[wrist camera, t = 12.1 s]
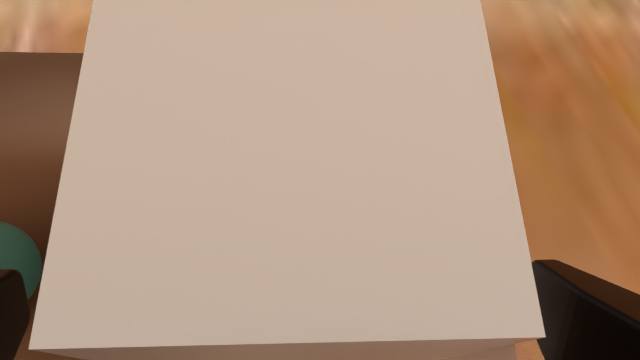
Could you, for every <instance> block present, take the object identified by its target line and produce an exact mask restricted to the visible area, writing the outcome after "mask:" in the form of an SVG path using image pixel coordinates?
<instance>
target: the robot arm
mask: <svg viewBox="0 0 640 360" xmlns="http://www.w3.org/2000/svg"><path fill="white" fill-rule="evenodd" d="M531 264H532V269H533V274H534V279H535V284H536V290H537V295H538V300H539V305H540V310H541V315H542V320H543V325H544V331H545V336H546V337H545V338H540V339H536V340H537V342H538V344H539V347H540V349H541V351H542V354H543V356H544V358H545V360H640V295H639V294H637V293H634V292H632V291H630V290H627V289H625V288H622V287H620V286H618V285H615V284H613V283H610V282H608V281H606V280H603V279H601V278H598V277H596V276H594V275H591V274H589V273H586V272H584V271H582V270H579V269H577V268H574V267H572V266H570V265H567V264H565V263H563V262H560V261H558V260H535V261H533V262H532V263H531ZM29 320H30V307H29V303H28V298H27V294H26V289H25V285H24V280H23V277H22V275H21V273H20V272H19V271H18V270H16V269H0V360H14V358H15V356H16V353H17V351H18V348H19V346H20V344H21V341H22V339H23V337H24V334H25V332H26V329H27V327H28V324H29Z"/></svg>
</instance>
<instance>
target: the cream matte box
mask: <svg viewBox="0 0 640 360" xmlns="http://www.w3.org/2000/svg"><path fill="white" fill-rule="evenodd" d="M545 337H546V336H545V331H544V325H543V320H542V315H541V310H540V305H539V300H538V295H537V290H536V284H535V279H534V274H533V269H532V264H531V259H530V254H529V248H528V243H527V238H526V233H525V228H524V223H523V218H522V212H521V207H520V202H519V197H518V192H517V187H516V182H515V176H514V171H513V166H512V161H511V156H510V151H509V146H508V140H507V135H506V130H505V125H504V120H503V115H502V110H501V104H500V99H499V94H498V89H497V84H496V79H495V74H494V69H493V63H492V58H491V53H490V48H489V43H488V38H487V33H486V27H485V22H484V17H483V12H482V7H481V2H480V0H94V1H93V6H92V12H91V17H90V22H89V28H88V33H87V38H86V44H85V49H84V54H83V60H82V65H81V70H80V76H79V81H78V87H77V92H76V97H75V103H74V108H73V113H72V119H71V124H70V129H69V135H68V140H67V145H66V151H65V156H64V161H63V167H62V172H61V178H60V183H59V188H58V194H57V199H56V204H55V210H54V215H53V220H52V226H51V231H50V236H49V242H48V247H47V252H46V258H45V263H44V269H43V274H42V279H41V285H40V290H39V295H38V301H37V306H36V311H35V317H34V322H33V327H32V333H31V338H30V344H29V350H34V351H40V352H46V353H52V354H57V355H63V356H69V357H74V358H80V359H86V360H442V359H447V358H451V357H456V356H461V355H465V354H470V353H475V352H479V351H484V350H489V349H493V348H498V347H503V346H507V345H512V344H517V343H521V342H526V341H531V340H535V339H540V338H545Z"/></svg>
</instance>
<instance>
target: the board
mask: <svg viewBox="0 0 640 360" xmlns="http://www.w3.org/2000/svg"><path fill="white" fill-rule="evenodd" d="M83 54H84V53H27V52H0V221H1V222H5V223H9V224H11V225H13V226H16V227H18V228H19V229H21V230H23V231H24V232H25V233H26V234H27V235H29V236H30V237H31V239H32V240H33V241H34V242H35V244H36V246H37V247H38V249H39V252H40V255H41V259H42V274H43V269H44V263H45V258H46V252H47V247H48V242H49V236H50V231H51V226H52V220H53V215H54V210H55V204H56V199H57V194H58V188H59V183H60V178H61V172H62V167H63V161H64V156H65V151H66V145H67V140H68V135H69V129H70V124H71V119H72V113H73V108H74V103H75V97H76V92H77V87H78V81H79V76H80V70H81V65H82V60H83ZM42 274H41V278H40V281H39V284H38V286H37V288H36V290H35V292H34V293H33V295H32V296H31V297H30V299H29V300H28V303H29V307H30V320H29V324H28V327H27V329H26V332H25V334H24V337H23V339H22V341H21V344H20V346H19V348H18V351H17V353H16V356H15V358H14V360H86V359H80V358H74V357H69V356H63V355H57V354H52V353H46V352H40V351H34V350H29V344H30V338H31V333H32V327H33V322H34V317H35V311H36V306H37V301H38V295H39V290H40V285H41V279H42ZM442 360H516V355H515V349H514V344H512V345H507V346H503V347H498V348H493V349H489V350H484V351H479V352H475V353H470V354H465V355H461V356H456V357H451V358H447V359H442Z"/></svg>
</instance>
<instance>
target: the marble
mask: <svg viewBox="0 0 640 360" xmlns="http://www.w3.org/2000/svg"><path fill="white" fill-rule="evenodd" d="M0 269H16V270H18V271H19V272H20V273H21V275H22V277H23V280H24V285H25V289H26V294H27V298H28V300H29V299H30V297H31V296H32V295H33V293H34V292H35V290H36V288H37V286H38V284H39V281H40V278H41V274H42V259H41V255H40V252H39V249H38V247H37V246H36V244H35V242H34V241H33V240H32V239H31V237H30V236H29V235H27V234H26V233H25V232H24V231H23V230H21V229H19V228H18V227H16V226H13V225H11V224H9V223H5V222H1V221H0Z"/></svg>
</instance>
